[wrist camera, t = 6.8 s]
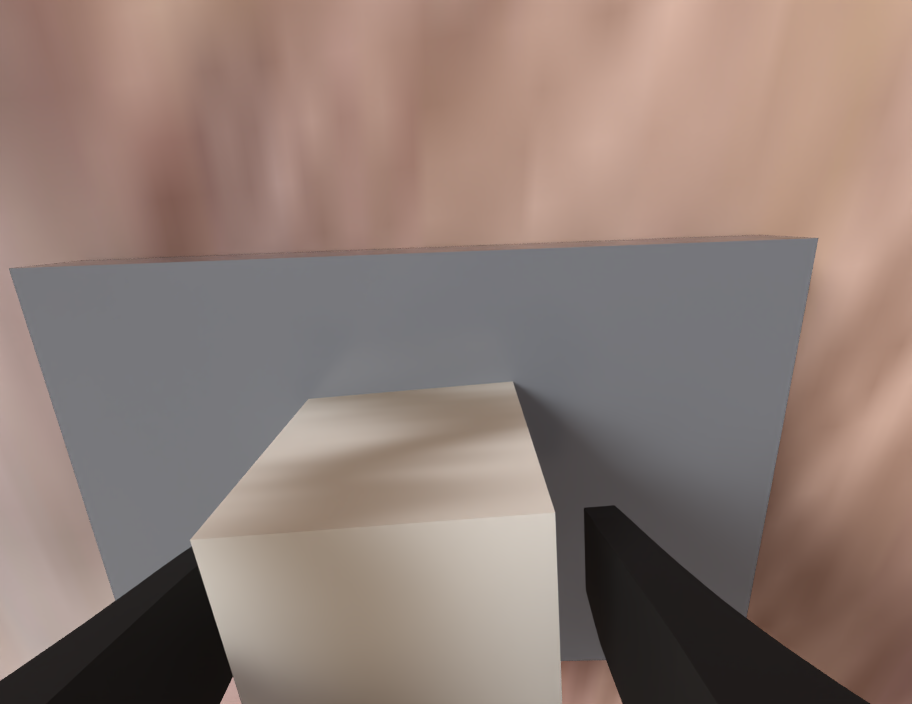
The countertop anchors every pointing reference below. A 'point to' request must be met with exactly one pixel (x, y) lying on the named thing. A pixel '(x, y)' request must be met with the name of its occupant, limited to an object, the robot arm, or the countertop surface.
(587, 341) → the slate board
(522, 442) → the cream cube
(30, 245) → the countertop surface
